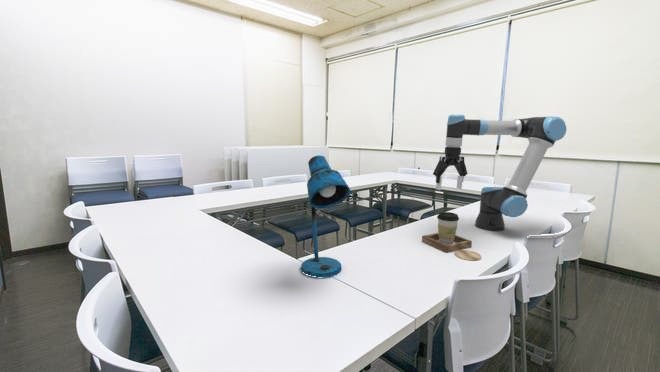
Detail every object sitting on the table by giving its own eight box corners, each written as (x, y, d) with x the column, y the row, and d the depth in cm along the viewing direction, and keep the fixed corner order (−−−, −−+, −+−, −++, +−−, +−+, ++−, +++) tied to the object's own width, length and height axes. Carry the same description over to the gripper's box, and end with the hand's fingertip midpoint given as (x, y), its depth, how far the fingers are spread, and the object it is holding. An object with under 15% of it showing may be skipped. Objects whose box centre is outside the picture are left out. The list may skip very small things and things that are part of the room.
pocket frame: (445, 236, 166) (446, 231, 165) (471, 247, 152) (471, 241, 151) (421, 241, 159) (422, 235, 158) (446, 252, 145) (446, 246, 144)
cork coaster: (466, 249, 149) (466, 248, 149) (487, 257, 139) (487, 257, 139) (449, 253, 144) (449, 252, 144) (469, 262, 134) (469, 261, 134)
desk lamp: (315, 287, 113) (315, 159, 105) (294, 264, 132) (292, 154, 124) (355, 278, 119) (357, 158, 111) (329, 257, 139) (330, 153, 131)
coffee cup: (458, 248, 150) (461, 217, 147) (436, 247, 151) (438, 216, 149) (455, 241, 159) (457, 212, 156) (434, 240, 161) (436, 211, 158)
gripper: (466, 146, 166) (461, 186, 170) (428, 145, 156) (424, 188, 160) (478, 147, 159) (473, 189, 163) (438, 146, 149) (434, 191, 153)
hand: (448, 189), depth 162 cm, fingers open, 13 cm apart
